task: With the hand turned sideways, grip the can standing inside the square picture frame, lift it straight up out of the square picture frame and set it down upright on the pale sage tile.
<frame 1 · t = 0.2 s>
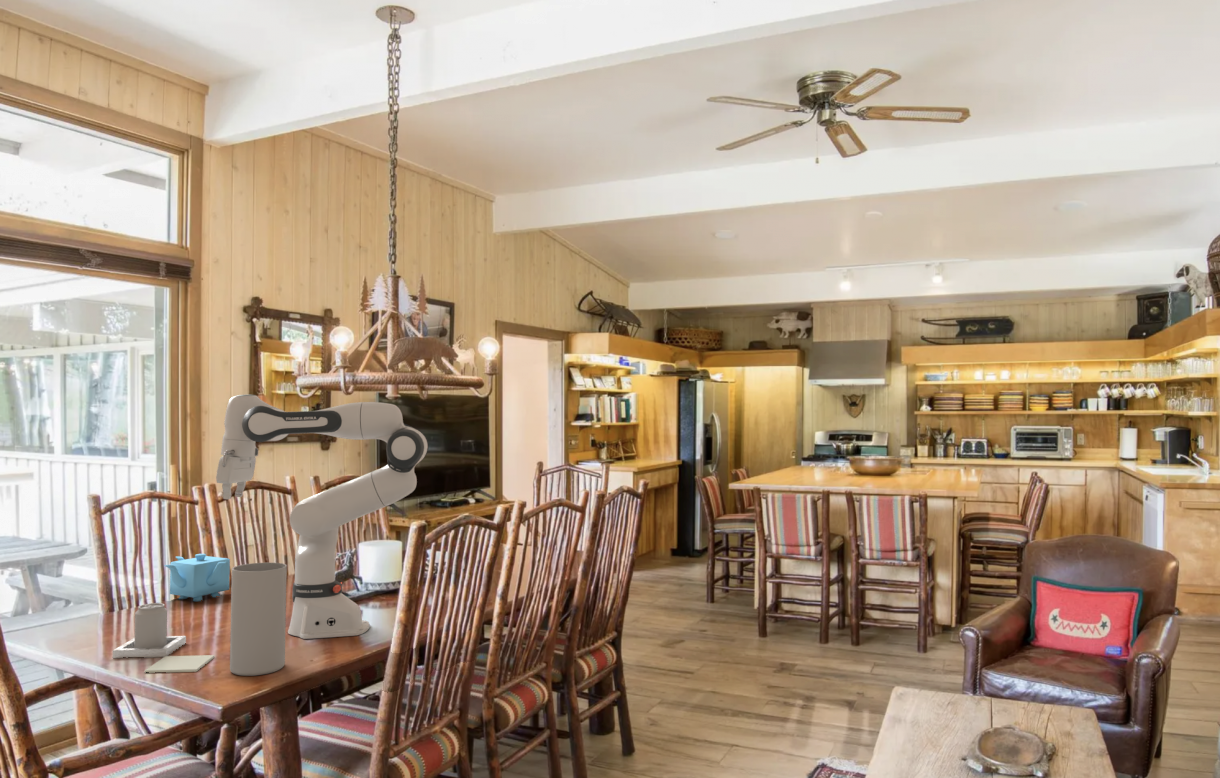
hand: (232, 497, 240), 39 cm above the table, tool pointing down, fingers open, 8 cm apart
tile: (180, 664, 208), on the table
teakettle: (197, 598, 284), on the table
can: (150, 651, 221), resting in square picture frame
cylinder vase: (257, 669, 205), on the table
square picture frame: (150, 650, 221), on the table
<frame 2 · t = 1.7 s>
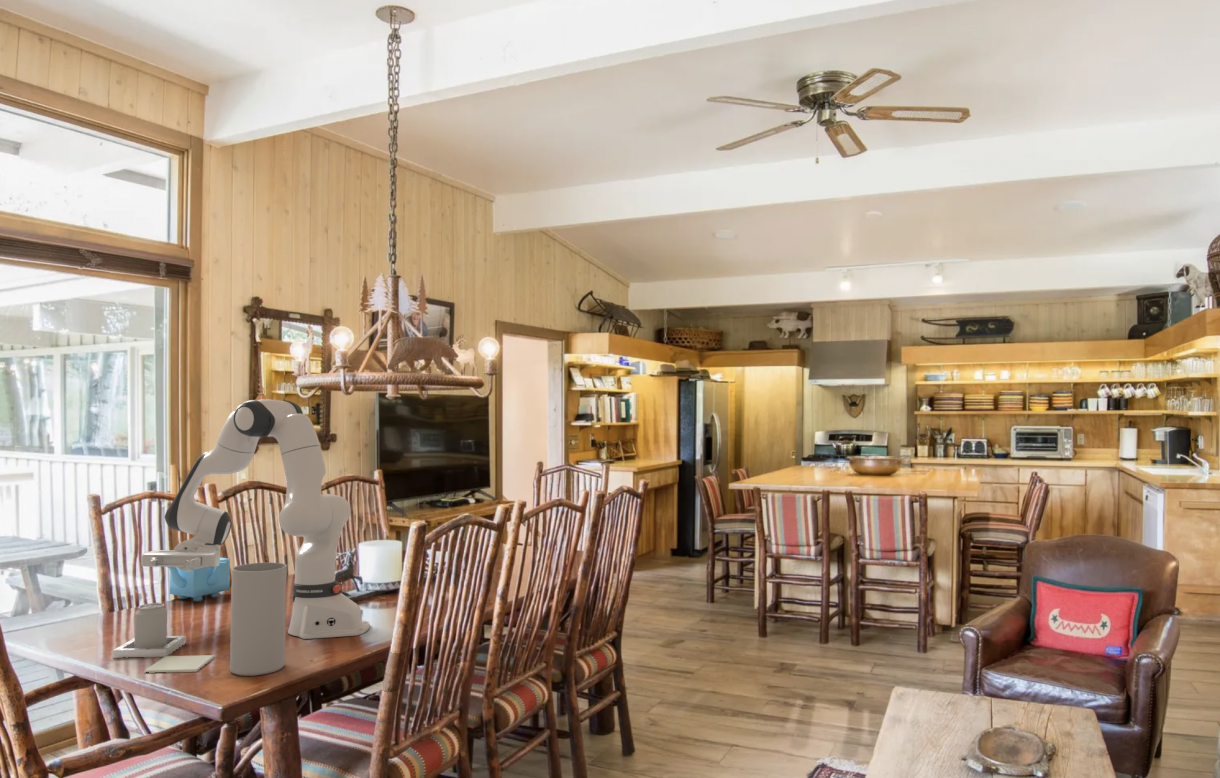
hand: (170, 563, 233), 21 cm above the table, tool horizontal, fingers open, 8 cm apart
nothing on the table moved.
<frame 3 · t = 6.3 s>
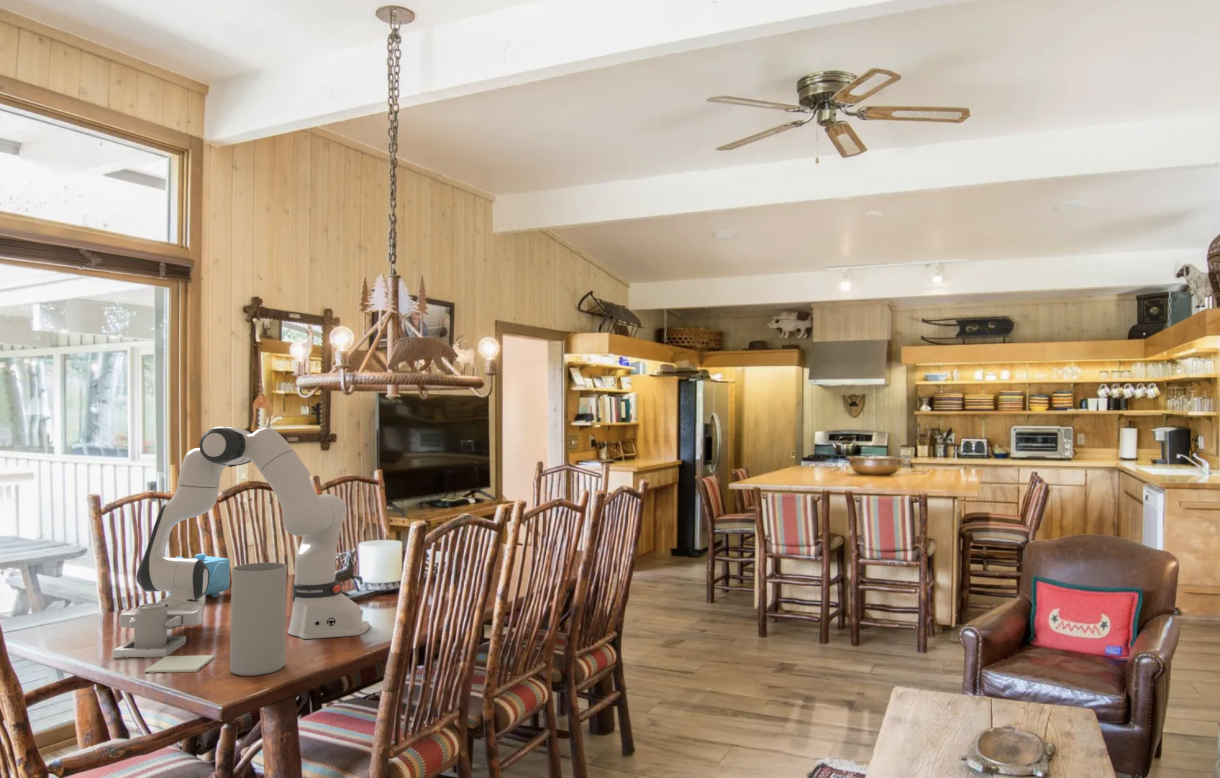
hand: (149, 624, 220), 7 cm above the table, tool horizontal, fingers closed on can, 7 cm apart
can: (150, 651, 221), resting in square picture frame, touching gripper
everything else where it was.
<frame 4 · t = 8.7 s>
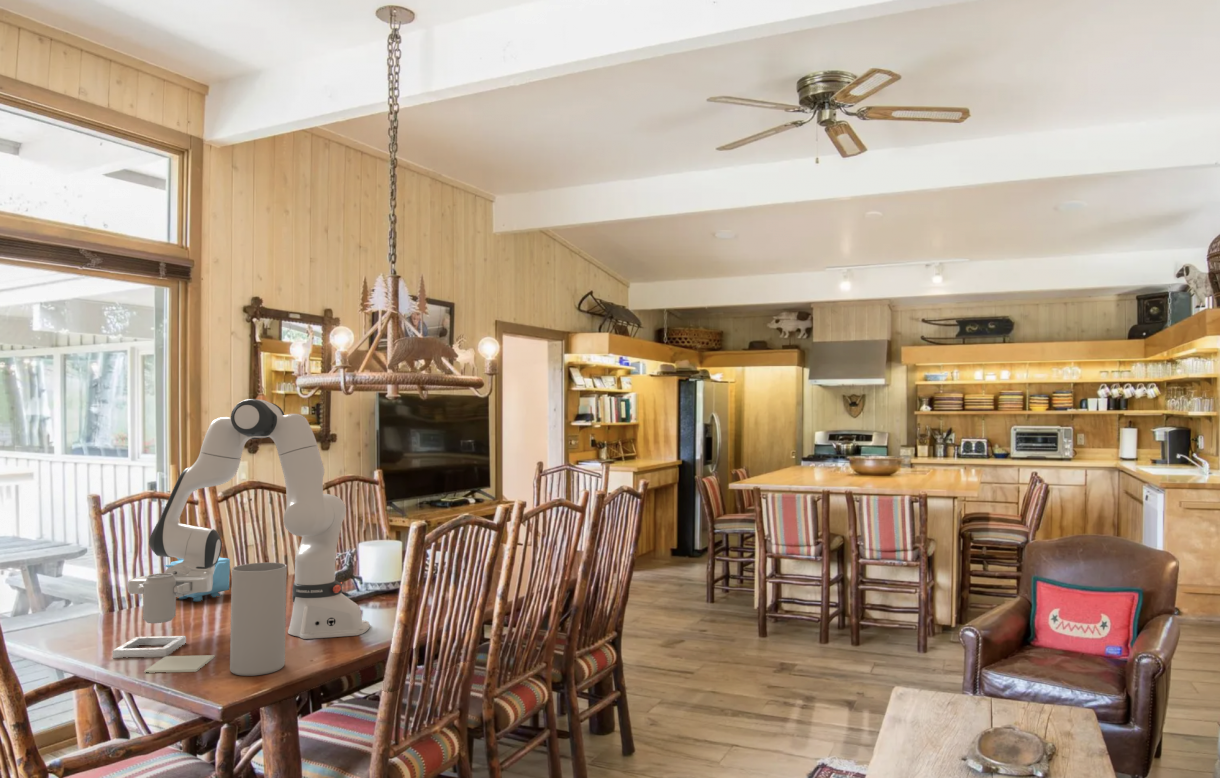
hand: (158, 590, 217), 17 cm above the table, tool horizontal, fingers closed on can, 7 cm apart
can: (159, 621, 218), point 8 cm above the table, touching gripper
everything else where it was.
when the fingers open (9 cm above the table, at t = 12.6 s): can stays where it is, resting on tile.
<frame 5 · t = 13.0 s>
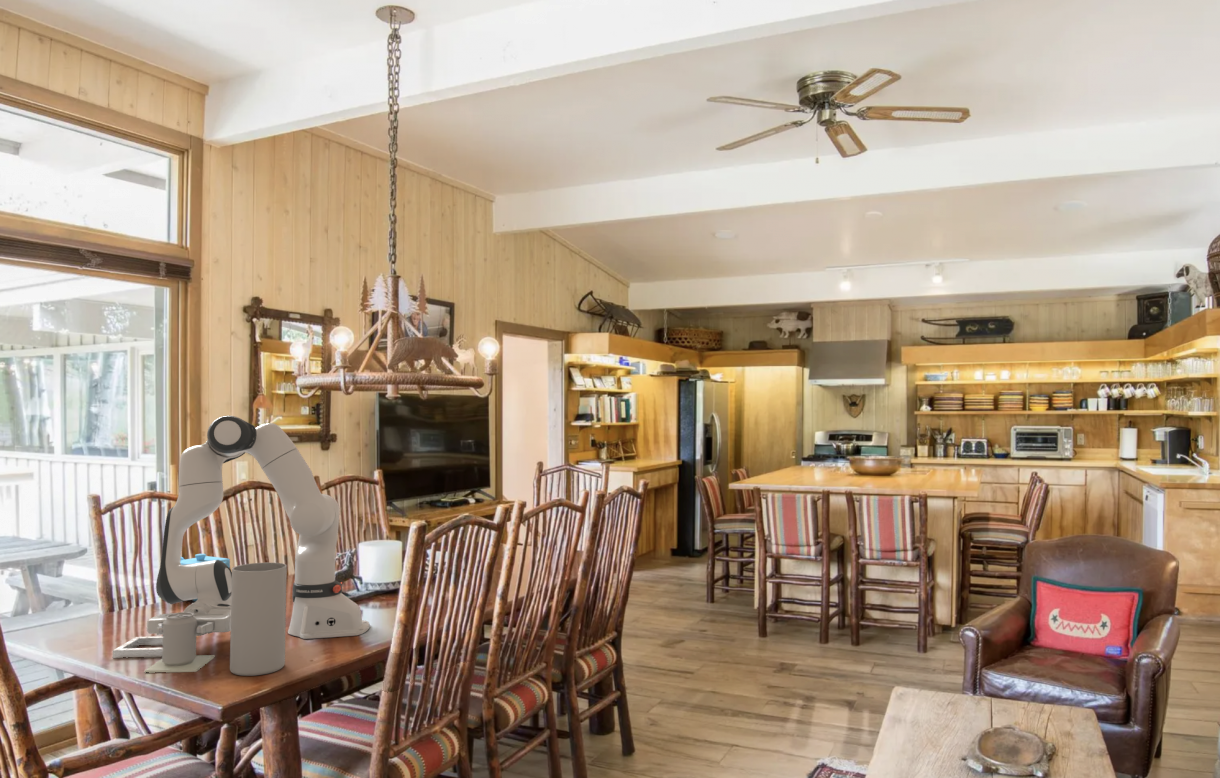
hand: (179, 631, 208), 9 cm above the table, tool horizontal, fingers open, 8 cm apart
can: (179, 663, 208), resting on tile, touching gripper
everything else where it was.
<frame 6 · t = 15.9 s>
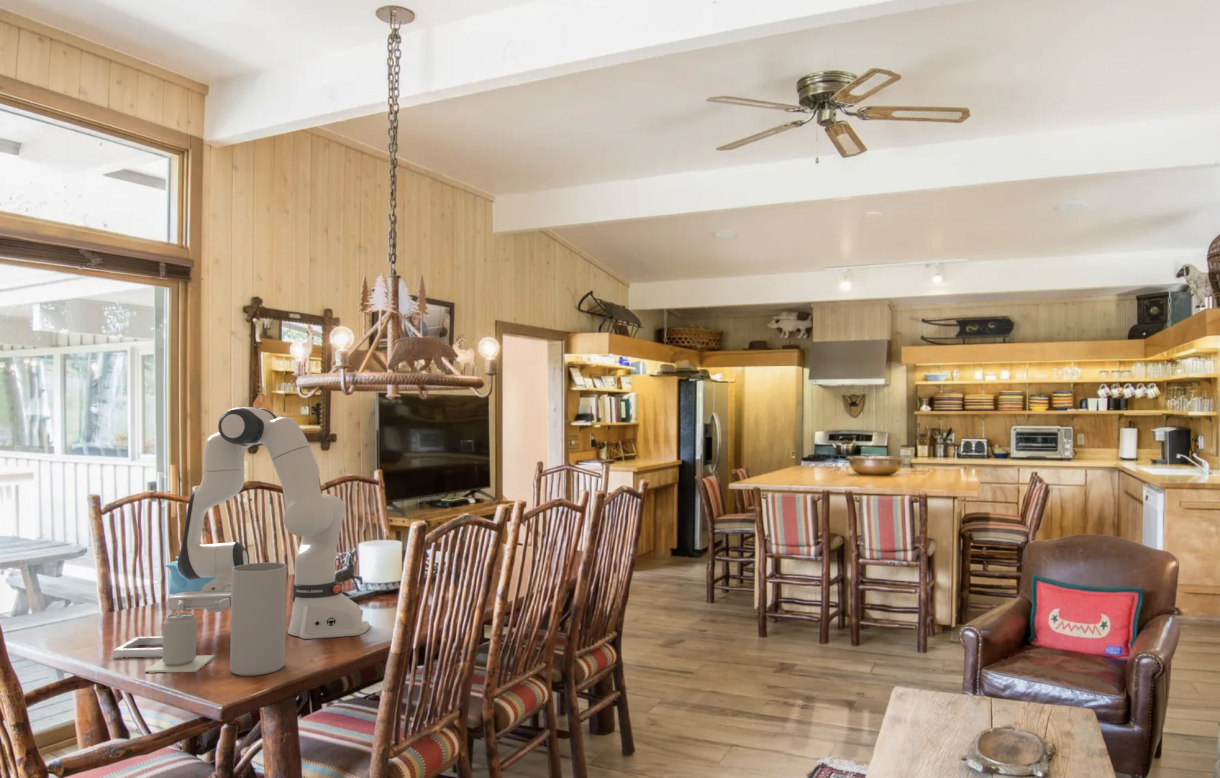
hand: (199, 606, 221), 12 cm above the table, tool horizontal, fingers open, 8 cm apart
can: (179, 663, 208), resting on tile
everything else where it was.
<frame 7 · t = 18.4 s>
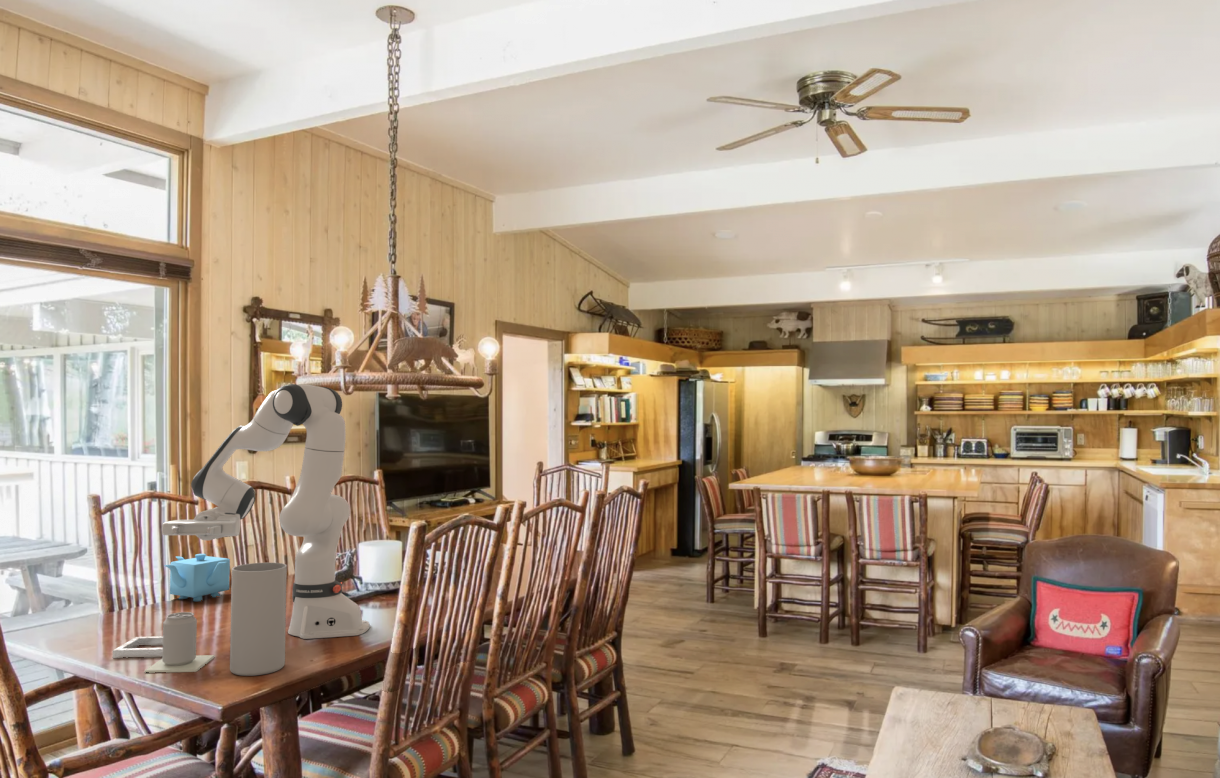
hand: (191, 531, 232), 30 cm above the table, tool horizontal, fingers open, 8 cm apart
nothing on the table moved.
at the end: can inside the target area on the tile (0.4 cm from its centre), point 0.4 cm above the tile's base; can tilted 0°; the gripper is holding nothing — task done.
